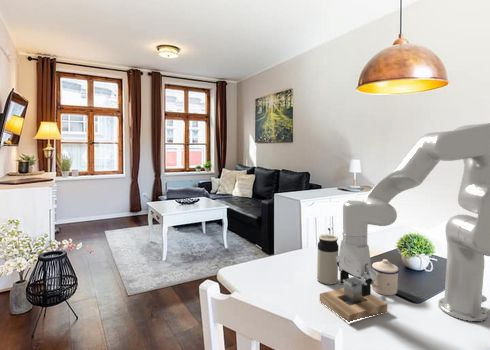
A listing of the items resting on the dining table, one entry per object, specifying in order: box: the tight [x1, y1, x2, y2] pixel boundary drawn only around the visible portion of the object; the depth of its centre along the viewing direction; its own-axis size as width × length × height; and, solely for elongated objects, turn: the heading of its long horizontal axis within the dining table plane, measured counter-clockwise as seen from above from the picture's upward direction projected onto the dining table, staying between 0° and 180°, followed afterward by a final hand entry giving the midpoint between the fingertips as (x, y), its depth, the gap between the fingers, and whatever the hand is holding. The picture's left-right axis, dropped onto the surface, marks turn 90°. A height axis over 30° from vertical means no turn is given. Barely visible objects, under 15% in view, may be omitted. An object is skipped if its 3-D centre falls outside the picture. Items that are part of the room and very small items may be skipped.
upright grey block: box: [343, 276, 363, 306], centre depth 96 cm, size 6×4×9 cm, turn 112°
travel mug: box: [316, 233, 340, 285], centre depth 115 cm, size 8×8×18 cm
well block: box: [319, 287, 388, 322], centre depth 96 cm, size 16×14×3 cm
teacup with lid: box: [371, 258, 400, 296], centre depth 106 cm, size 12×9×12 cm
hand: (354, 288), depth 96 cm, fingers open, 9 cm apart
